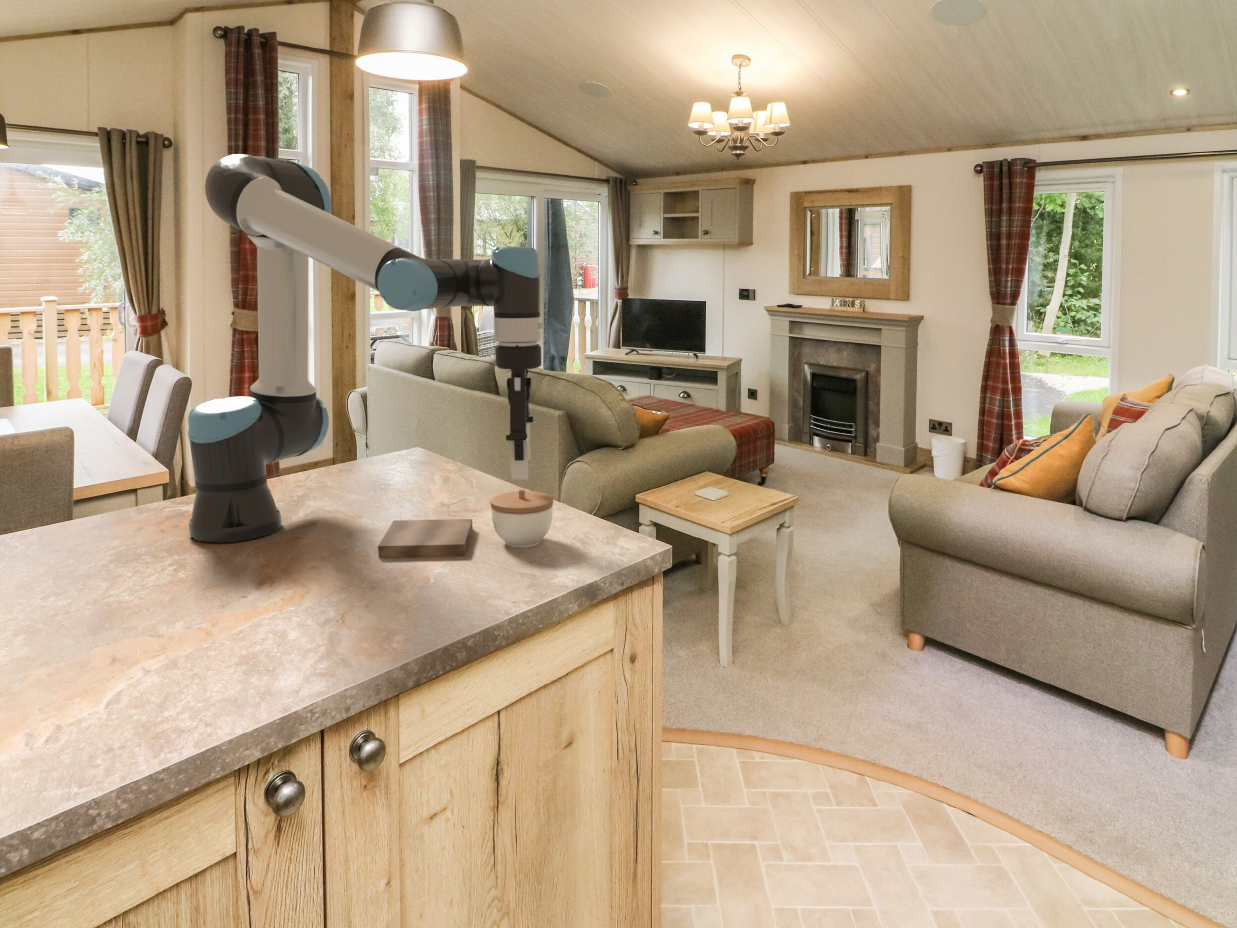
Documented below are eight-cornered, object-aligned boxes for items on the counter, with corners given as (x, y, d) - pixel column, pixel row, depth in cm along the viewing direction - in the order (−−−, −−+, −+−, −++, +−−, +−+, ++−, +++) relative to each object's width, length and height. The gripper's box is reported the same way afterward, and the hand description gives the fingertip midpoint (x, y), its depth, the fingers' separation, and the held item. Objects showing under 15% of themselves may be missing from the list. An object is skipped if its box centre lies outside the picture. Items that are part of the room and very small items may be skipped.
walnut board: (378, 557, 137) (377, 546, 136) (394, 530, 150) (393, 520, 150) (464, 555, 138) (464, 544, 137) (472, 529, 151) (472, 518, 151)
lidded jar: (543, 554, 139) (542, 500, 137) (482, 549, 141) (480, 496, 139) (560, 534, 149) (560, 483, 147) (503, 530, 151) (502, 480, 149)
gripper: (539, 351, 125) (542, 487, 130) (541, 337, 149) (544, 452, 154) (489, 351, 124) (494, 488, 129) (499, 337, 149) (503, 453, 154)
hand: (521, 469), depth 142 cm, fingers open, 13 cm apart
